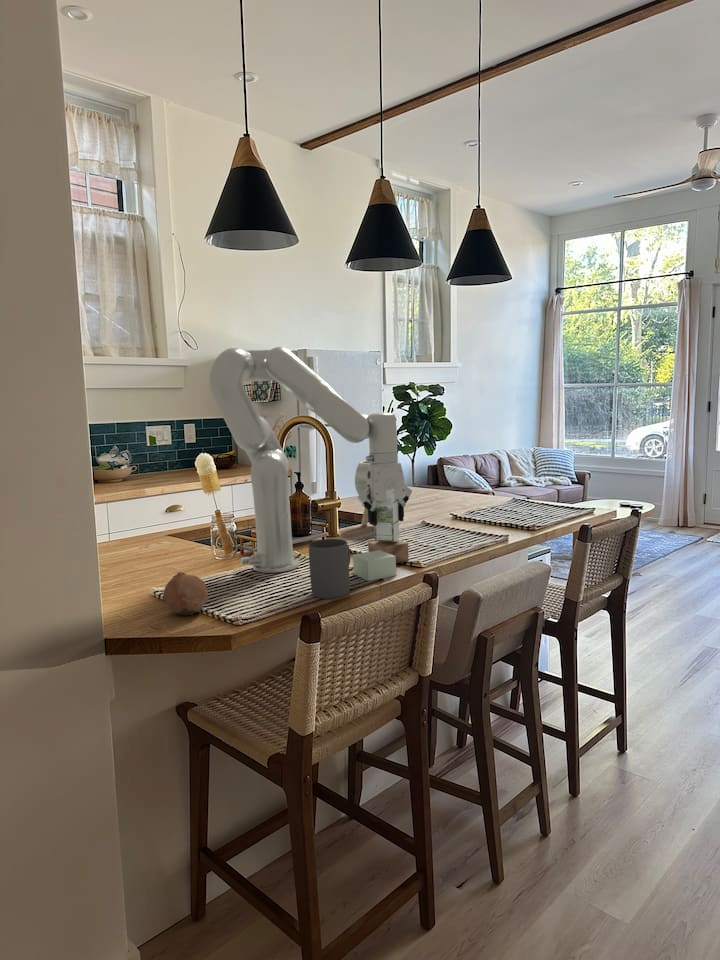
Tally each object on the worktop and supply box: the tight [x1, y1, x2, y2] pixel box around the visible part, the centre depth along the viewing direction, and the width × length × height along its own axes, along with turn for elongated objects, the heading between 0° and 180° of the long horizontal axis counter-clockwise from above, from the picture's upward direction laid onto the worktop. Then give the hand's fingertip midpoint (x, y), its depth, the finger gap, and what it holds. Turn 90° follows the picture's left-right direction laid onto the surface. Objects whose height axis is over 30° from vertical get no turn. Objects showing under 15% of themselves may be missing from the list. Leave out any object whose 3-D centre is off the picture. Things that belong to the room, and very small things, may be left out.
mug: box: [308, 538, 351, 600], centre depth 155 cm, size 14×9×12 cm
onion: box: [162, 571, 209, 617], centre depth 144 cm, size 10×9×10 cm
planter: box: [354, 460, 370, 526], centre depth 227 cm, size 16×16×22 cm
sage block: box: [352, 550, 397, 582], centre depth 167 cm, size 8×8×5 cm
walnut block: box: [367, 539, 410, 564], centre depth 180 cm, size 8×8×5 cm
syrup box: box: [373, 488, 401, 541], centre depth 179 cm, size 6×6×14 cm
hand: (386, 522), depth 179 cm, fingers closed on syrup box, 7 cm apart
